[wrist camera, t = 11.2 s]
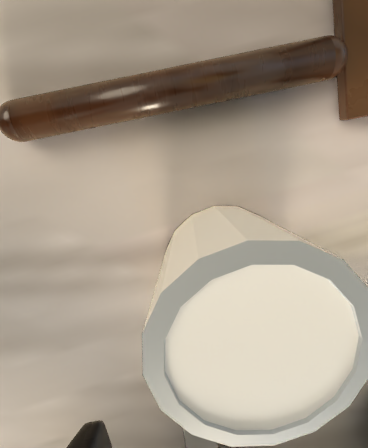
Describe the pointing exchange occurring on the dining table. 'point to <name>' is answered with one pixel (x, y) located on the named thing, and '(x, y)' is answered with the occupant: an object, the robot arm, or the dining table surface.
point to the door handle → (197, 441)
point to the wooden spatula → (206, 83)
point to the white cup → (253, 331)
